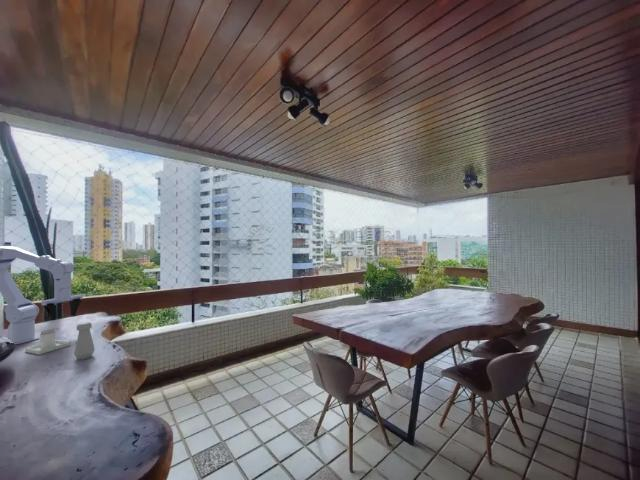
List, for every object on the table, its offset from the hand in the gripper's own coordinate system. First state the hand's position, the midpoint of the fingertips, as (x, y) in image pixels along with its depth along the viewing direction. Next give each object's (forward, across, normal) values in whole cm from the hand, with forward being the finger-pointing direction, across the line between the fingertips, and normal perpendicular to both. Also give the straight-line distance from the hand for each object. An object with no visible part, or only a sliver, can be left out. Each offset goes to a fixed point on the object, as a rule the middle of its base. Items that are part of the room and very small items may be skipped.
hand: (63, 317), depth 127 cm
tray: (+9, -10, -10) cm, 17 cm away
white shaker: (+9, -10, -10) cm, 17 cm away
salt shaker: (+10, -11, -36) cm, 39 cm away
